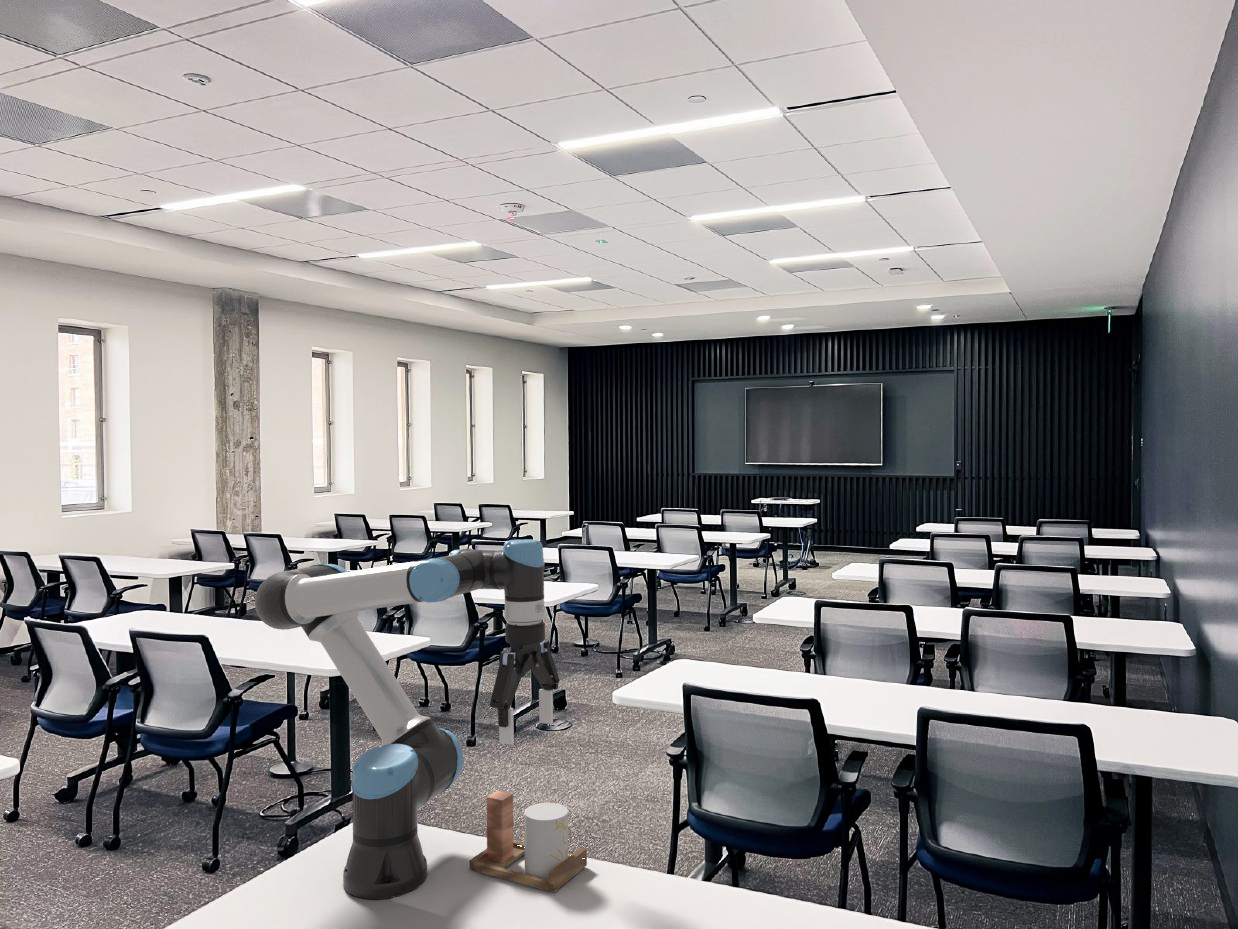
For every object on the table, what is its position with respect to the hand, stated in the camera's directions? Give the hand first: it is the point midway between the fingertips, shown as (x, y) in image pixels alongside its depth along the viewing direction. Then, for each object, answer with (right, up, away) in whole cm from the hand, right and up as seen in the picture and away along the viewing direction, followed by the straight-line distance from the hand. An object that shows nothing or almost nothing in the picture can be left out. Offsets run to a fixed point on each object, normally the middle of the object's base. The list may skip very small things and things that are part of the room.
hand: (527, 733), depth 171 cm
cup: (+4, -26, -2) cm, 26 cm away
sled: (0, -26, 0) cm, 26 cm away
